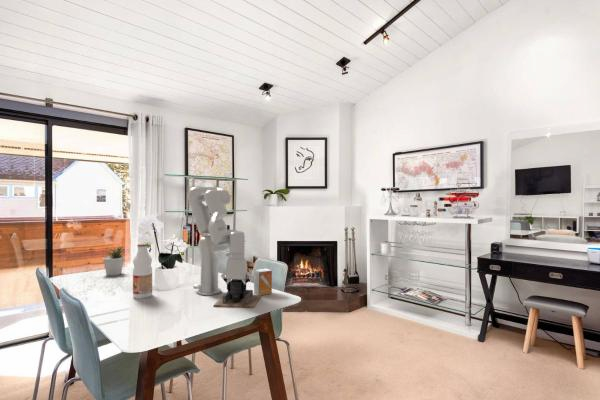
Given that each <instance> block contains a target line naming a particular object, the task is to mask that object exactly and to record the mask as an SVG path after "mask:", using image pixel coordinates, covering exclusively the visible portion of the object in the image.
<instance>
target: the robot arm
mask: <svg viewBox="0 0 600 400" xmlns="http://www.w3.org/2000/svg"><path fill="white" fill-rule="evenodd" d="M187 195H188V197H187V199H188V200H187V201H188V204H189V206H190V209H191V210H192V213H193V216H194V220H195V223H196V228H197V232H198V233H199V234H200V235H205V236H202V237H200V239H199V241H198V248H199V255H200V284H193V289H195V290H197V295H198V294H199V296H200V295H201V296H213V295H218V294H220V293H221V292H222V289H221V288H220V287H219V258H218V257H217V255H216V254H215V253H219V252H225V251H227V250H229V251H228V252H229V253H226V255H225V256H226V257H228V258H227V261H226V264H225V265H226V266H225V272H223V273H222V274H221V275H220V277H221V278H222V279H223V281H224V282H225V285H226V290H227V292H230V281H231V280H234V279H237V280H242V281H243V288H242V292H245V290H247V283H249V282H250V281H251V280H252V278H254V275H253V274H251V273H250V272H249V271H248V264H247V260H246V258H245V250H246V249H245V245H246V244H245V237H246V235H245V232H244V231H241V230H240V231H239V230H237V229H228V228H227V225H226V222H225V220H224V218H225V217H226V216H227V213H228V211H227V209H226V206H225V205H229V204H230V202H231V194H230V193H229V191H228V190H227V189H225V188H221V187H217V186H194V187H191V188H190V189H189V190H188V194H187ZM203 202H205V203H203ZM247 277H248V278H247Z"/></svg>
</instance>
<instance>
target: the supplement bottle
mask: <svg viewBox="0 0 600 400" xmlns="http://www.w3.org/2000/svg"><path fill="white" fill-rule="evenodd" d="M242 288H243V281H242V280H237V279H234V280H232V279H231V281H230V299H231V300H234V301H238V300H242V299H243V295H244V292H242Z"/></svg>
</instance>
